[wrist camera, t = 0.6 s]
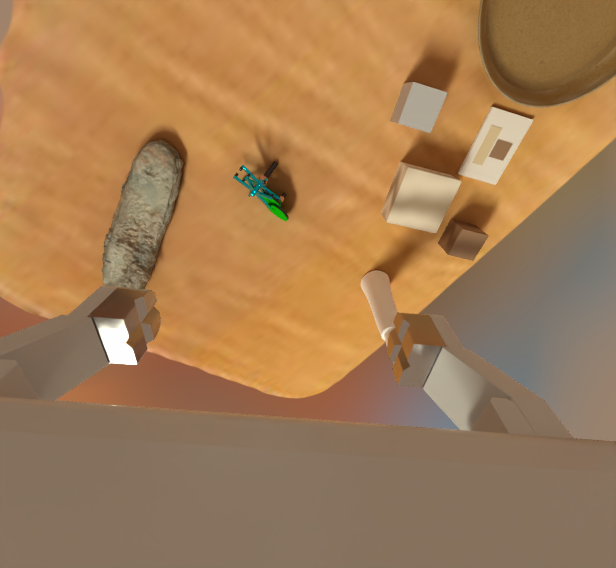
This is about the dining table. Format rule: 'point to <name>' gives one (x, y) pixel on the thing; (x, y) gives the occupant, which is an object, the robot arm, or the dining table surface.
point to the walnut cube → (462, 240)
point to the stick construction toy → (266, 198)
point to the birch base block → (419, 197)
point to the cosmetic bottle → (380, 301)
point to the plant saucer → (547, 48)
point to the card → (494, 145)
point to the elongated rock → (142, 216)
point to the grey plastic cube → (418, 106)
